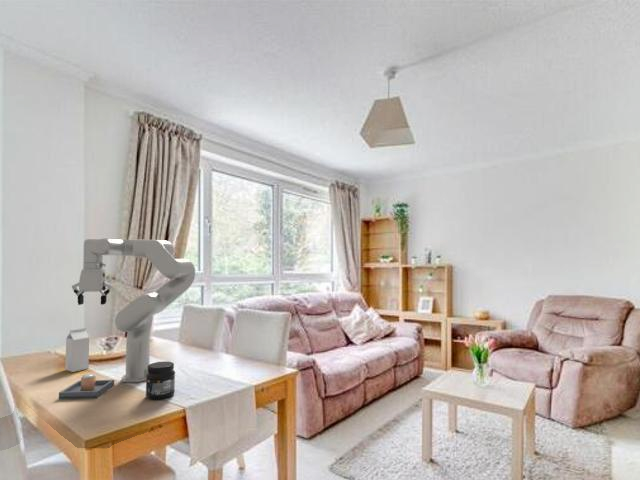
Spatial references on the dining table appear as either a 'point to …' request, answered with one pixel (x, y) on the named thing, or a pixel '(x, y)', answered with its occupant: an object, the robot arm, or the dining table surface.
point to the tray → (75, 392)
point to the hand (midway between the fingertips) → (92, 304)
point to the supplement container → (160, 380)
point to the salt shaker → (88, 382)
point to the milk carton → (77, 350)
